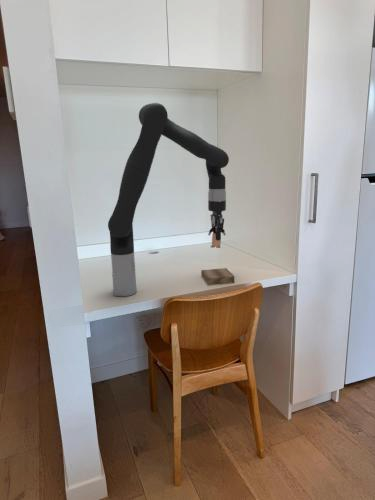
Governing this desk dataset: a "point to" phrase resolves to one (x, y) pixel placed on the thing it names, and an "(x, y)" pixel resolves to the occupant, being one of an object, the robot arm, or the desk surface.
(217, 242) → the grandmother figurine
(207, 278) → the walnut plinth
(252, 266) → the desk surface
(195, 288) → the desk surface
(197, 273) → the desk surface
